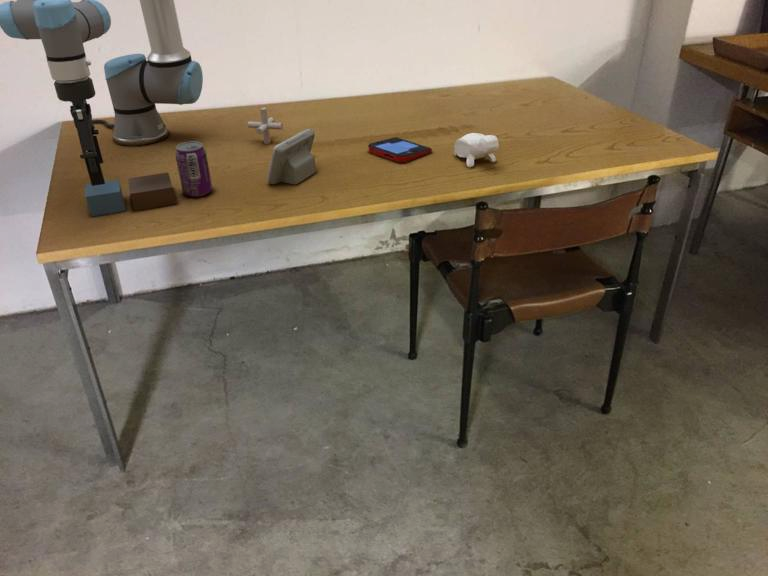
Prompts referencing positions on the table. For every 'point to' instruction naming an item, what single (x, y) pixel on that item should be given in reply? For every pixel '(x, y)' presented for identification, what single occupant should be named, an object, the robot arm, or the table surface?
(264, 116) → the pipe connector
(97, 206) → the blue block
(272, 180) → the digital clock
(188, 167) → the beverage can
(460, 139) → the white toy sheep
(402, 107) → the table surface
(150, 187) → the walnut block
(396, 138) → the game console
